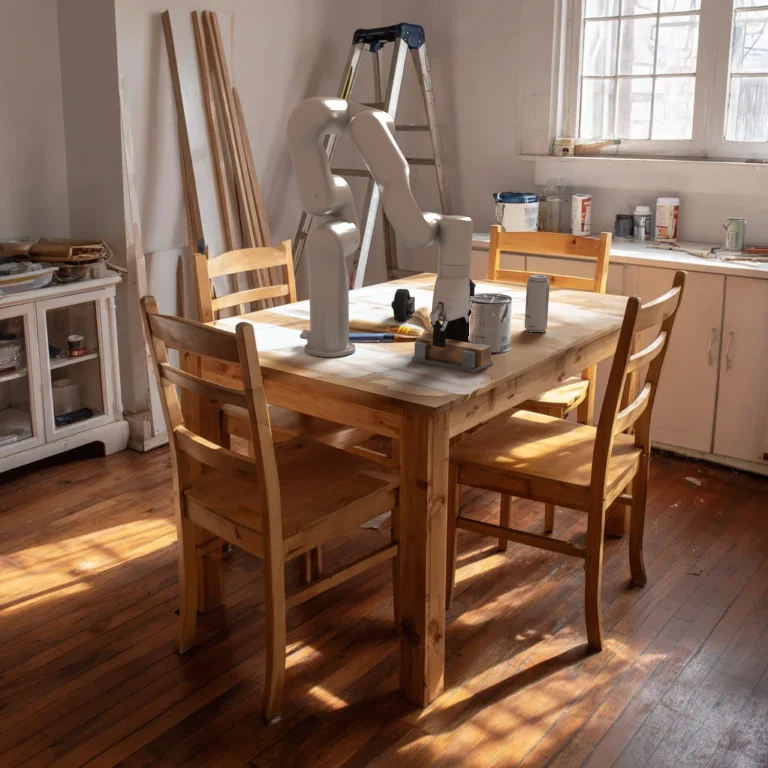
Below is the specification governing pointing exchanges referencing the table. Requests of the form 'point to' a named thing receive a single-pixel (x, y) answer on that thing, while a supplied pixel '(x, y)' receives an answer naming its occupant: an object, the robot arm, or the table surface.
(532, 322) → the energy drink can
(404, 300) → the caster wheel
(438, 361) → the cradle
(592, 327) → the table surface
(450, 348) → the rail
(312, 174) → the robot arm
